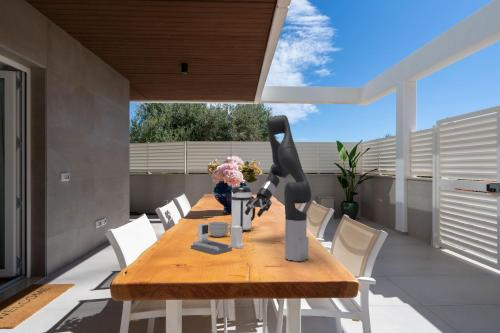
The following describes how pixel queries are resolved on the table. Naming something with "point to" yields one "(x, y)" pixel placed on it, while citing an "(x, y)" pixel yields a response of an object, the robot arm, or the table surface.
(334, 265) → the table surface
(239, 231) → the white stepped block
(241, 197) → the coffee press
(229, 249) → the rail
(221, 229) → the teacup
